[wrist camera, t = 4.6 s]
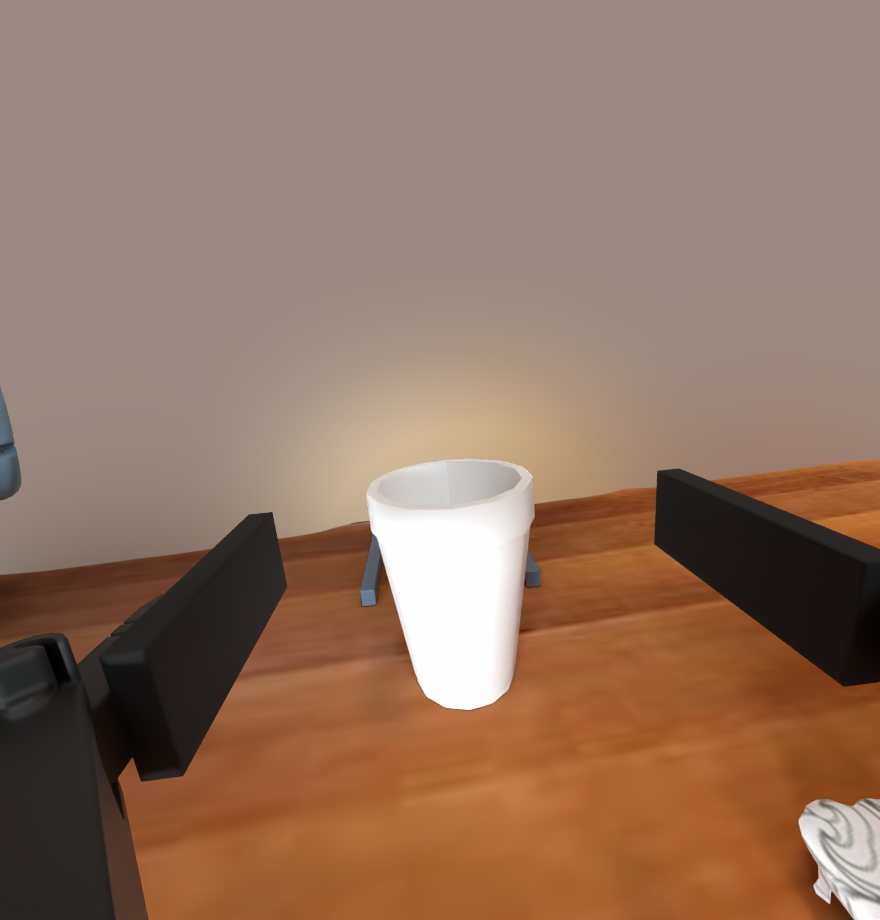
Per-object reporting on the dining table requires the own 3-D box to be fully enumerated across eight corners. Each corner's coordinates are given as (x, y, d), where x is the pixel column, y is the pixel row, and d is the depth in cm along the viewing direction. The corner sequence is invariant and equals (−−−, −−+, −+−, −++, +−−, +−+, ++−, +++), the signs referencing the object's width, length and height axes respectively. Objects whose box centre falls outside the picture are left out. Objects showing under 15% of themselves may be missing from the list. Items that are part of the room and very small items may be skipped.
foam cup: (405, 754, 21) (373, 523, 18) (384, 641, 30) (361, 472, 27) (568, 705, 23) (565, 489, 20) (505, 612, 32) (496, 452, 29)
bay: (540, 586, 35) (540, 570, 35) (362, 606, 34) (360, 591, 34) (502, 519, 50) (502, 507, 49) (377, 532, 49) (375, 521, 49)
